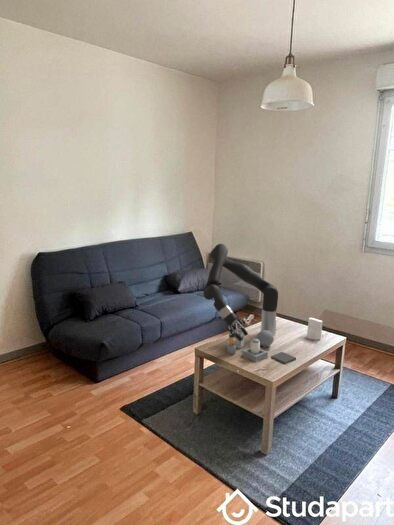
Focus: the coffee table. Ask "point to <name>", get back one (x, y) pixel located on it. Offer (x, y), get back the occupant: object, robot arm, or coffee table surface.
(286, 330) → the coffee table surface
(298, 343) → the coffee table surface
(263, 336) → the decorative stone
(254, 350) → the cylinder
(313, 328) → the white upright block
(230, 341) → the plunger
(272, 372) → the coffee table surface
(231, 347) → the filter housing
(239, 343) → the ink box
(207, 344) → the coffee table surface
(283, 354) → the rubber mat
